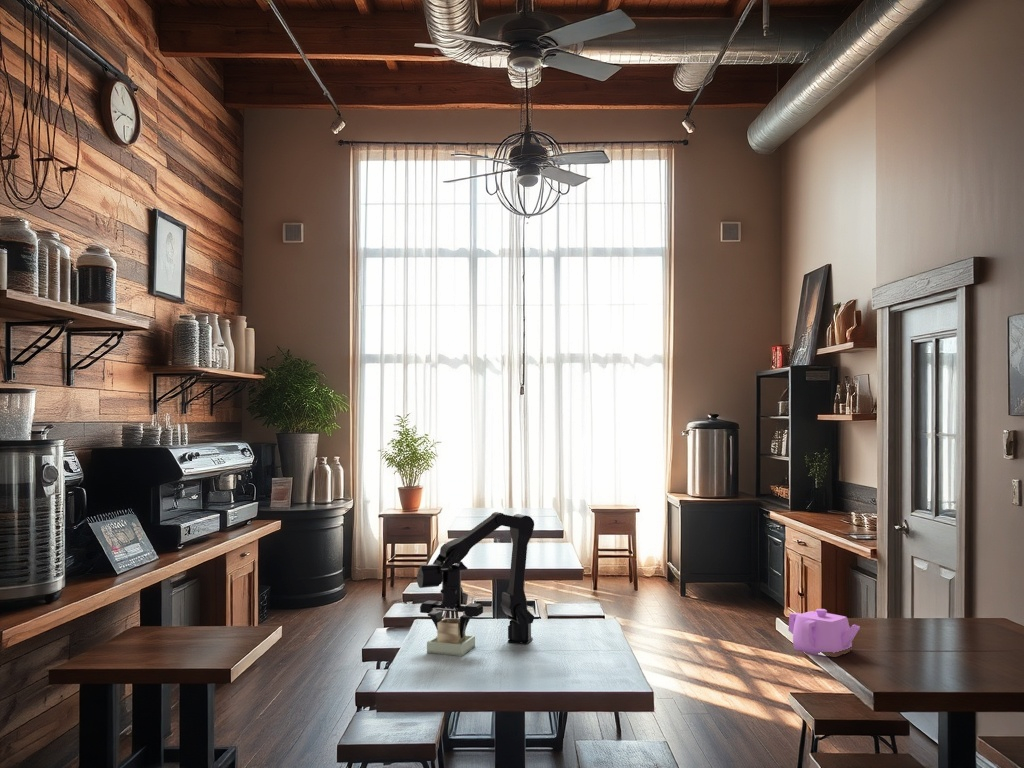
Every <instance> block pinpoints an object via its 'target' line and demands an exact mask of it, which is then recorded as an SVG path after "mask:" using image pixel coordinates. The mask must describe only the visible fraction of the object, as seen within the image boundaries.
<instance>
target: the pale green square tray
mask: <svg viewBox="0 0 1024 768" xmlns="http://www.w3.org/2000/svg"><path fill="white" fill-rule="evenodd" d="M475 647H476V635H467V634H465V640H463V641H462V642H460V643H459V644H450V643H438V642H437V635H436V636H434V637H433V638H432V639H430V640H428V641H426V653H427V654H435V655H445V656H456V657H462V656H463V655H466V653H468V652H469V651H471V650H472V649H474V648H475Z"/></svg>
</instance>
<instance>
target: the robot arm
mask: <svg viewBox="0 0 1024 768" xmlns="http://www.w3.org/2000/svg"><path fill="white" fill-rule="evenodd" d="M502 526H503V527H507V528H509V532H510V533H509V534H510V537H511V540H512V547H511V548H512V550H511V561H510V571H509V583H508V588H507V590H506V592H504V591H503V592H501V602H500V605H499V606H501V609H502V612H504V614H505V615H506V616H507V619H508V620H509V625H508V626H507V639H508V640H507V643H510V644H511V643H515V644H523V645H524V644H525V645H527V644H529V643H530V642H531V641H532V640H533V637H532V624H533V623H534V619H535V615H534V614H533V613H532V612H530V611H529V610H528V601H527V597H526V592H525V579H526V578H525V576H526V567H527V565H526V564H527V556H528V555H527V554H528V545H529V542H530V541H531V538H532V536H533V533H534V530H535V529H534V528H535V521H534V519H533V518H532V517H531V516H530V515H525V514H522V513H521V514H520V513H516V514H514V515H509V514H504V513H503V512H499V511H495V512H492V513H491V515H489V516H488V517H487V518H485V519H483V521H481V522H479V523H478V524H477V525H476V526H475V527H473V528H471V529H470V530H469V531H467V533H465V534H464V535H461V536H459V537H457V538H454V539H451V540H450V541H447V542H445V543H444V544H442V546H440V549H439V550H440V551H439V553H438V555H437V557H436V558H435V559H434V561H433V563H432V564H420V565H419V569H418V570H417V574H416V581H417V586H418V588H420V589H423V588H424V589H425V588H433V587H439V586H440V585H441V589H440V594H441V597H442V598H441V603H440V602H439V600H430V599H429V600H426V601H424V602H421V604H420V606H419V613H421V614H427V616H428V617H430V619H431V621H432V622H433V624H434V626H435V628H436V630H437V623H438V622H439V621H441V620H443V614H444V612H452V613H453V612H455V613H462V615H461V616H459V619H460V636H461V638H463V636H464V633H465V634H466V630H467V627H468V624H469V622H470V620H471V618H475V617H479V616H481V615H482V614H483V613H484V605H482V603H475V602H474V603H473V602H471V603H468V599H469V595H468V593H466V592H464V590H463V587H462V571H466V570H468V567H467V566H466V565H465V564H464V563H463V561H462V560H463V559H465V557H466V556H467V555H468V553H469V552H470V551H471V549H472V548H473V547H474V546H476V545H477V544H478V543H480V542H481V541H482V540H484V539H485V538H486V537H488V536H489V535H490V534H492V533H493V532H494V531H496V530H498V529H499V528H500V527H502Z"/></svg>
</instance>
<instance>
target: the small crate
mask: <svg viewBox="0 0 1024 768" xmlns="http://www.w3.org/2000/svg"><path fill="white" fill-rule="evenodd" d="M436 630H437V635H436V636H437V642H438V643H450V644H459V643H460V642H462V641H463V640H465V635H466V632H465V633H464V636H463V638H461V636H460V618H453V617H452V618H451V617H444V618H442V620H441V621H439V622H438V623H437V629H436Z"/></svg>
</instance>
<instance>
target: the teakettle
mask: <svg viewBox="0 0 1024 768" xmlns="http://www.w3.org/2000/svg"><path fill="white" fill-rule="evenodd" d="M860 629H861V626H860V625H858V624H852V625H851V626H850V623H849V620H848V617H847V616H846V615H845V616H844V615H839V614H835V613H830V612H828V610H827V609H825V608H816V609H815V611H814V610H811V611H806V612H803V613H800V612H791V613H789V617H788V631H789V633H791V634H792V645H793V647H794V650H796V651H798V652H802V653H805V652H806V653H805V654H810V655H815V656H819V655H818V653H820V652H833V653H835V652H839V651H842V650H845V649H848V648H850V647H852V646H853V640H854V638H855V636H856V635H857V633H858V632H859V630H860ZM852 648H853V647H852Z"/></svg>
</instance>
